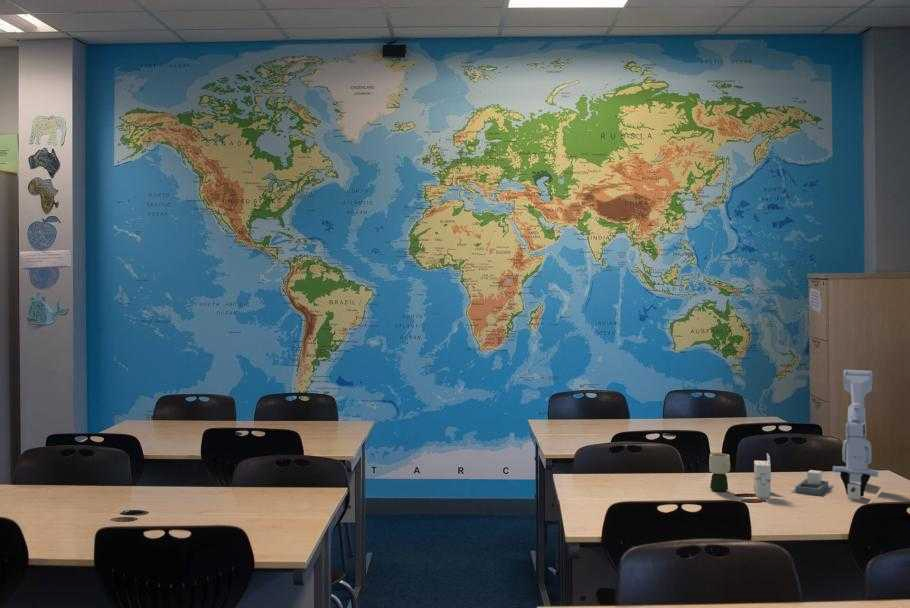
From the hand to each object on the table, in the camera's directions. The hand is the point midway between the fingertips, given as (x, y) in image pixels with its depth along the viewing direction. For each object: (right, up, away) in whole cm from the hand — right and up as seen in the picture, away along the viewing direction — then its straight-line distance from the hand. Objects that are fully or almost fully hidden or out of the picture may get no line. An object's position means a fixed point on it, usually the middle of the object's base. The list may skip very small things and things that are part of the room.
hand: (854, 494), depth 316 cm
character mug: (-43, -2, +14) cm, 46 cm away
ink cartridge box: (-30, -2, +7) cm, 31 cm away
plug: (-1, -2, -1) cm, 2 cm away
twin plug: (-8, 0, +15) cm, 17 cm away
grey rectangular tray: (-10, -2, +13) cm, 16 cm away
